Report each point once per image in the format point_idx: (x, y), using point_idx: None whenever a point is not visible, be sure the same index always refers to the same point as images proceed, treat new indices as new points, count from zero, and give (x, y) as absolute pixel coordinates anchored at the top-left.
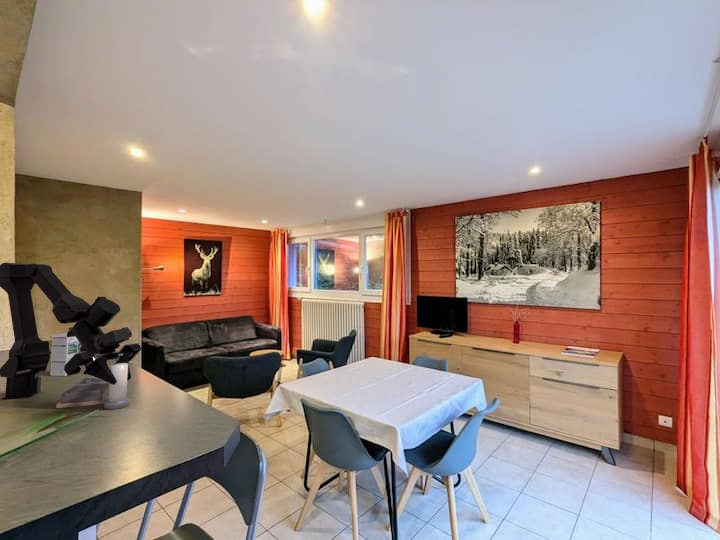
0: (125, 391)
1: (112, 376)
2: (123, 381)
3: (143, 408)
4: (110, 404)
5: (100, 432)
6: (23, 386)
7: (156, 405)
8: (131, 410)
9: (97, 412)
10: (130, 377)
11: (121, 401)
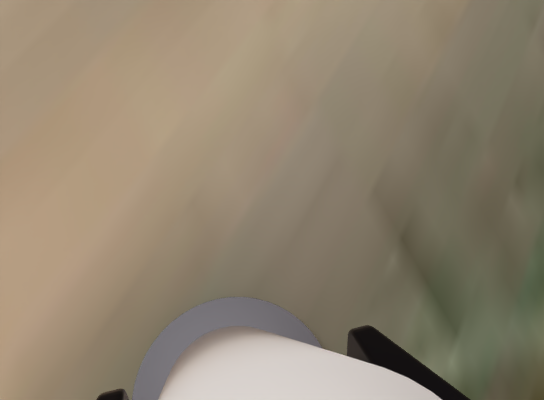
0: (202, 340)
1: (433, 385)
2: (252, 335)
3: (169, 145)
4: (319, 346)
5: (525, 4)
6: None
7: (73, 119)
8: (240, 182)
9: None
10: (109, 394)
11: (241, 321)
